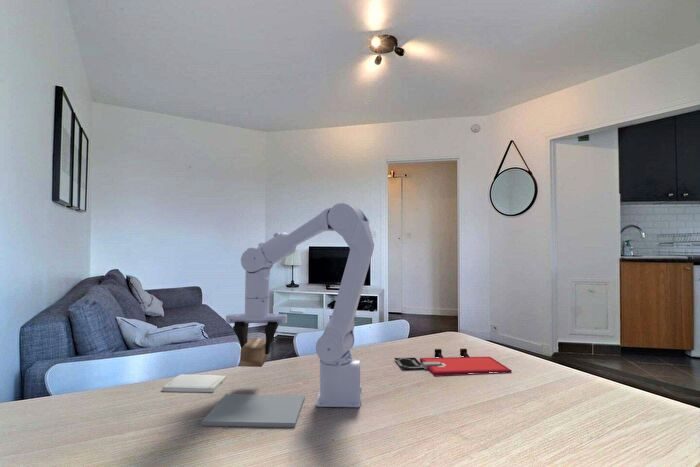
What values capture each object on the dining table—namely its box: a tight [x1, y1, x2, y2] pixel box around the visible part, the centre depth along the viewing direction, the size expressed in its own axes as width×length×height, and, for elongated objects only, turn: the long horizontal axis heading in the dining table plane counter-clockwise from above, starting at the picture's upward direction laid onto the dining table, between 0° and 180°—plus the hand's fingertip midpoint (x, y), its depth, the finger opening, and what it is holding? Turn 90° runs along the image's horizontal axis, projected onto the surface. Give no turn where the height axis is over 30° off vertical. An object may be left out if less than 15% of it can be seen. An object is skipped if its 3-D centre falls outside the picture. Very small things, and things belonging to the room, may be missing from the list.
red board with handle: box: [394, 348, 512, 376], centre depth 100 cm, size 30×3×15 cm
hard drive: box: [162, 374, 228, 393], centre depth 84 cm, size 2×8×12 cm
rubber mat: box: [201, 393, 306, 428], centre depth 71 cm, size 18×12×1 cm, turn 89°
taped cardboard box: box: [239, 337, 271, 368], centre depth 83 cm, size 5×9×4 cm, turn 1°
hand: (256, 353), depth 83 cm, fingers closed on taped cardboard box, 5 cm apart
